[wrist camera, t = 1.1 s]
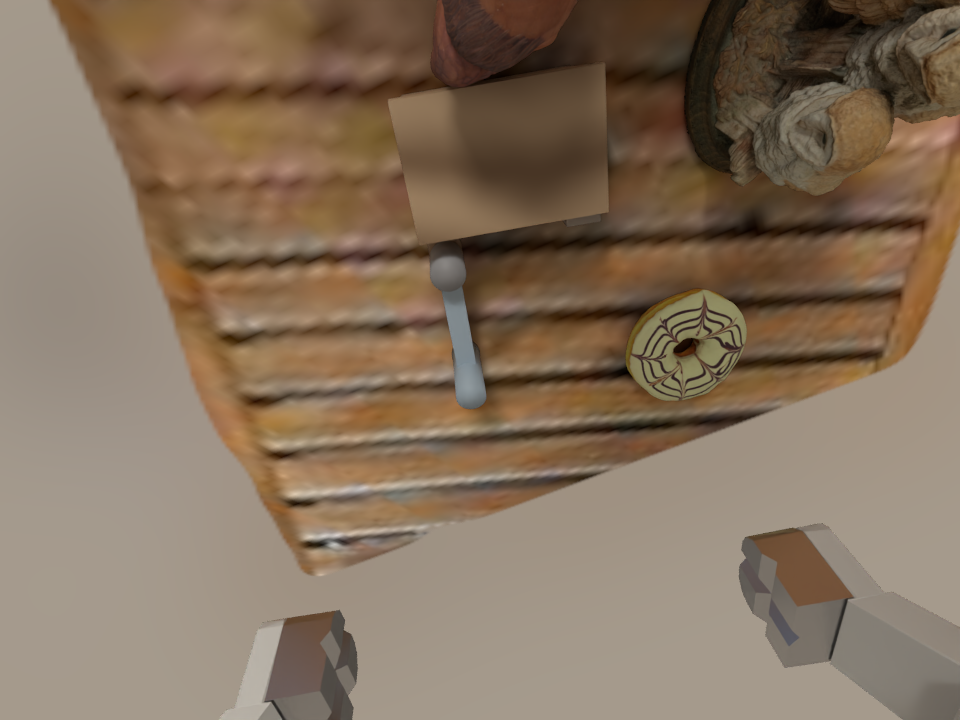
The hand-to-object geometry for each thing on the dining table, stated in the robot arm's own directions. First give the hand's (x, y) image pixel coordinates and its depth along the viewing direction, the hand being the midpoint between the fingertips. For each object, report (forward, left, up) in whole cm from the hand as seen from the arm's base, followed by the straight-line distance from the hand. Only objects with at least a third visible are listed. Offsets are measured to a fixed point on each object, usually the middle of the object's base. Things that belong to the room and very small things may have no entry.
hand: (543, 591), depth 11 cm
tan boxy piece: (+1, +3, -36) cm, 36 cm away
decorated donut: (+18, +18, -37) cm, 45 cm away
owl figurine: (-5, +24, -37) cm, 44 cm away
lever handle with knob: (+11, -2, -36) cm, 38 cm away
